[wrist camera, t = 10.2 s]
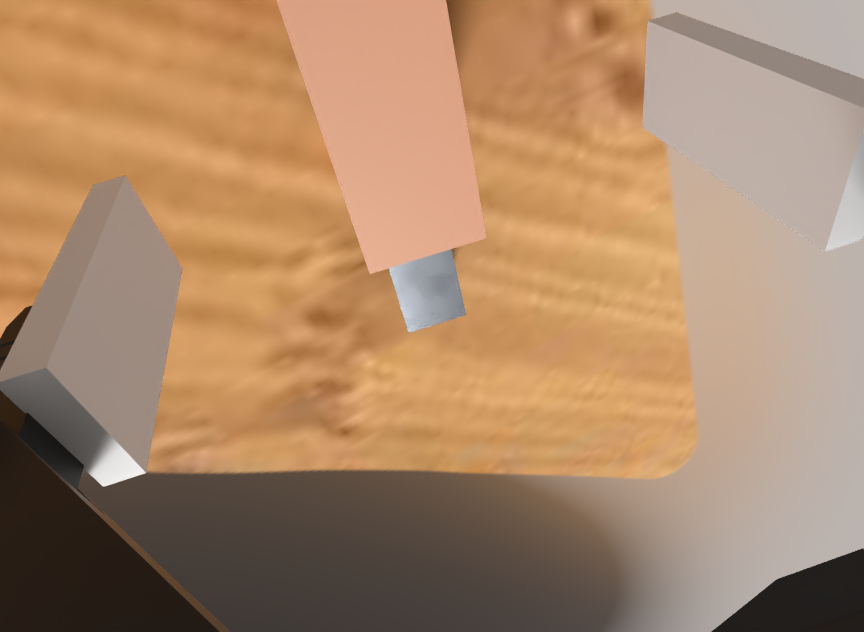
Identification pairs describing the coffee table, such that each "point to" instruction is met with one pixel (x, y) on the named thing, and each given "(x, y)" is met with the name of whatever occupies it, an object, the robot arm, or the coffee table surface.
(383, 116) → the salmon pink bridge block
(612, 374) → the coffee table surface
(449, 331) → the coffee table surface
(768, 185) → the robot arm
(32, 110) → the coffee table surface
